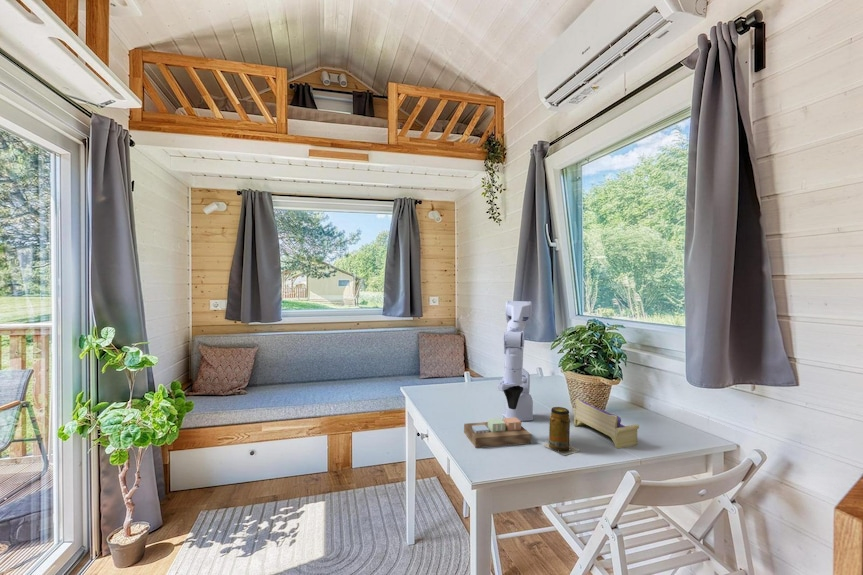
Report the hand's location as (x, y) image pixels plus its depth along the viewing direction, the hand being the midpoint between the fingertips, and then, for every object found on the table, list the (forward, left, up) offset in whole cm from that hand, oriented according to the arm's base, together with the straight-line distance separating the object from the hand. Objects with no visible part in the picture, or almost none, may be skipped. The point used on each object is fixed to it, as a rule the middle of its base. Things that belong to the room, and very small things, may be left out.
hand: (512, 408), depth 132 cm
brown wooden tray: (+5, 0, -9) cm, 11 cm away
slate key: (+11, 0, -9) cm, 14 cm away
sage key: (+5, 0, -7) cm, 9 cm away
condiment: (-12, +11, -10) cm, 19 cm away
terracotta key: (0, 0, -7) cm, 7 cm away
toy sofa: (-31, +4, -10) cm, 33 cm away
